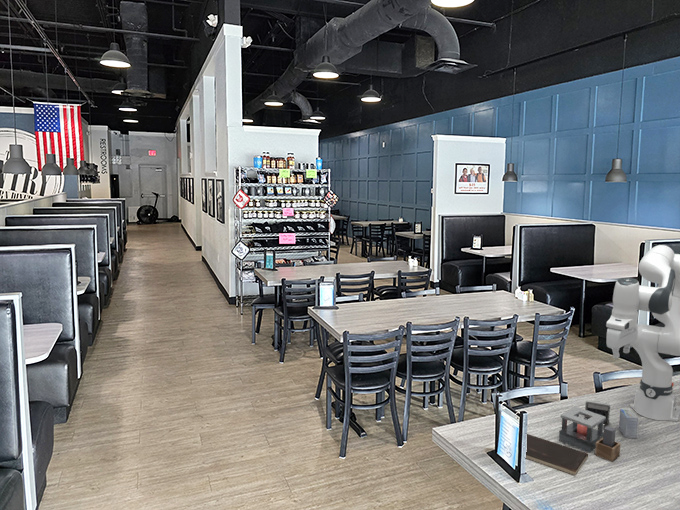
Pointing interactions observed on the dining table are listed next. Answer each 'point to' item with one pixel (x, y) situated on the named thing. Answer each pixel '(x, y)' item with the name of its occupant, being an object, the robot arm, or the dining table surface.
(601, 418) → the grey ball cage
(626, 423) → the medicine box
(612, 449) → the brown wooden box
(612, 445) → the dark gray rectangular block
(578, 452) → the hardcover book
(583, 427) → the button
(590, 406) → the electrical switch
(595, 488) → the dining table surface
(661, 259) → the robot arm
